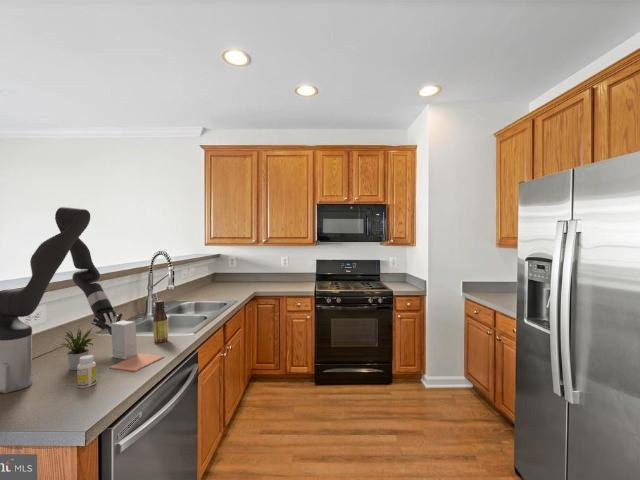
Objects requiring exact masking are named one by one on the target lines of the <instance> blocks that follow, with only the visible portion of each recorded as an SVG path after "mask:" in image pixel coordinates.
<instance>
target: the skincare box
mask: <svg viewBox="0 0 640 480" xmlns="http://www.w3.org/2000/svg"><path fill="white" fill-rule="evenodd" d="M136 329H137V328H136V321H134V320H133V321H132V320H123V319H122V320H120V321H119V322H116V321H115V323H112V324H111V331H112V335H111V349H112V354H111V355H112V358H116V359H120V360H127V359H129V358H132V357H134V356H136V355H138V349H137V330H136Z"/></svg>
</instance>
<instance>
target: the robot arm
mask: <svg viewBox="0 0 640 480" xmlns="http://www.w3.org/2000/svg"><path fill="white" fill-rule="evenodd" d="M54 214H55V215H54V216H55V217H54V220H55V224H56V226H57V228H58V230H59V232H58V233H57V234H55V235H53V236H52V237H49V238H47V239H46V240H45V241H43V242H41V243H40V245H38V247H37V248H36V249H35V251H34V252H33V254H32V255H31V258H30V270H31V277H30V279H29V281H28V283H27V284H26V286H25V287H24V288H23V289H20V288H19V289H17V288H16V289H15V288H14V289H13V288H12V289H11V288H10V289H9V288H8V289H2V290H0V393H1V394H7V393H10V392H15V391H19V390H22V389H25V388H27V387H30V386H31V385H32V384H33V328H32V325H30V324H27V323H26V322H23V321H21V320H20V319H19V318H24V317H28V316H30V315H32V314H33V313H34V312H36V310H37V308H38V307H39V304H40V302H41V301H42V299H43V296H44V294H45V292H46V291H47V288H48V286H49V284H50V283H51V281H52V279H53V277H54V275H55V274H56V273H57V271H58V269H59V268H60V266H61V265H62V263H63V262H64V260H65V258H66V257H67V255H68V253H70V256H71V259H72V263H73V266H74V268H75V269H78V271H75V272H74V273H73V274H72V282H73V283H74V284H75V285H76V287H78V288H79V289H80V290H81V291H82V292H83V293H84V295H85V297H86V299H87V302H88V305H89V307H90V309H91V312H92V314H93V316H94V318H93V319H92V320H91V322H90V323H91V325H92V326H93V325H94V327H96V328H99V329H101V330H103V331H104V330H107V331H108V333H109V335H110V336H112V331H111V324H112V323H115V322H119V321H121V319H122V317H123V313H119V314H118V313H117V312H116V311H115V310H114V307H113V305H112V304H111V301H110V299H109V298H108V296H107V294H106V293H105V291H104V289H103V287H102V285H101V284H100V283H98V282H97V281H99V280H100V278H101V273H100V271H99V270H98V269H97V268H96V266H95V265H94V262H93V259H92V256H91V251H90V249H89V247H88V246H87V245H86V243H84V241H83V240H82V239H81V238H80V237H81V235H82V234H83V233H84V231H85V230H86V229H87V227H88V226H89V224H90V222H91V213H90V212H89V210H88V209H86V208H81V207H73V206H72V207H71V206H61V207H60V206H59V208H57V210H56V211H55V213H54Z"/></svg>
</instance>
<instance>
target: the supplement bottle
mask: <svg viewBox="0 0 640 480" xmlns="http://www.w3.org/2000/svg"><path fill="white" fill-rule="evenodd" d="M94 359H95V358H94V355H93V354H88V355H86V356H82V357H80V364H79V365H78V366H77V370H76V376H77V379H76V380H77V381H76V382H77V387H78V388H81V389H85V388H90V387H92V386H94V385H95V384H97V363H96V362H95V361H94Z"/></svg>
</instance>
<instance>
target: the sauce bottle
mask: <svg viewBox="0 0 640 480" xmlns="http://www.w3.org/2000/svg"><path fill="white" fill-rule="evenodd" d="M154 304H155V312H154V313H153V316H152V317H153V322H152V323H153V325H152V326H153V339H154V343H158V344H160V343H165V342H168V338H169V332H168V316H167V313H166V310H165V301H164V300H163V299H159V300H155V302H154Z"/></svg>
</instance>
